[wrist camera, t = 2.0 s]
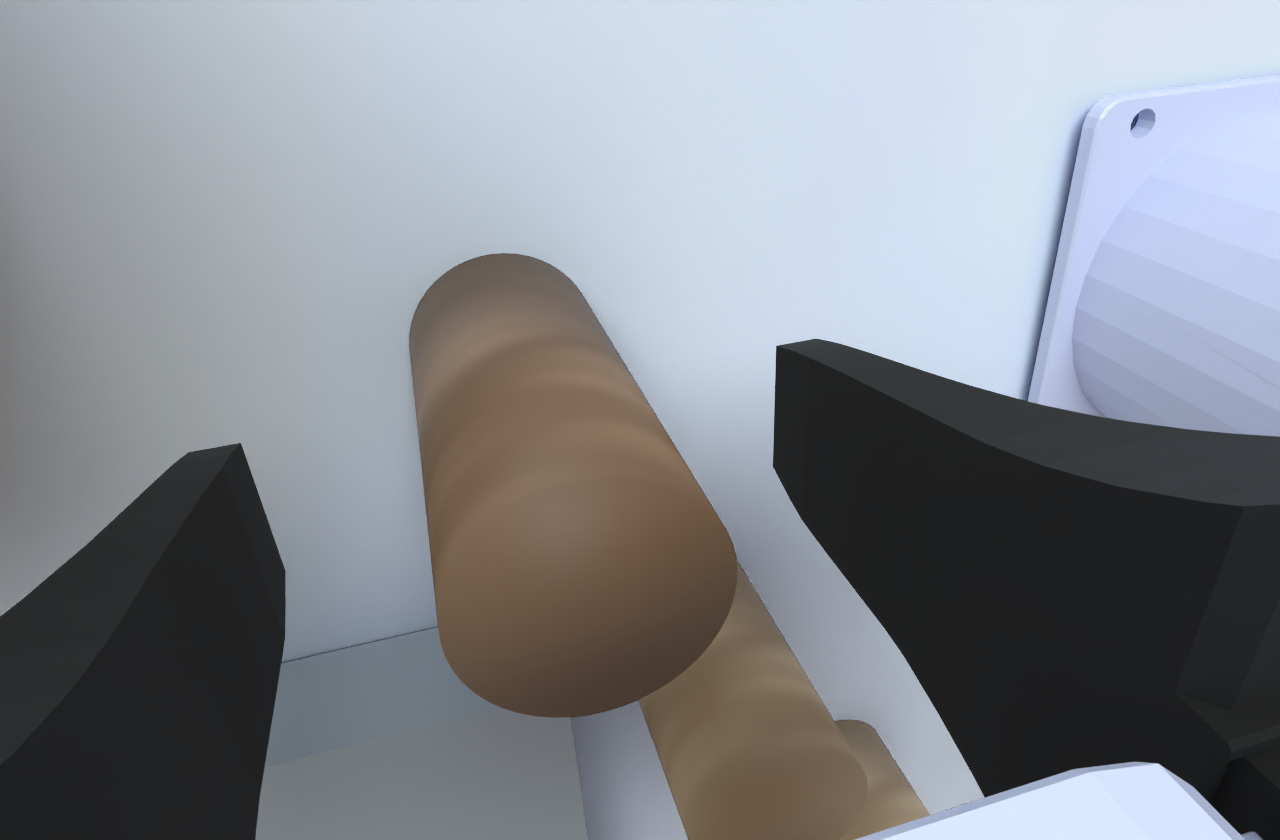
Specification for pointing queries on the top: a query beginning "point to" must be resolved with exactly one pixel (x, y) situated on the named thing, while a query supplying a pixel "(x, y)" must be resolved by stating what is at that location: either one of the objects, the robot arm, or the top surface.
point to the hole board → (410, 754)
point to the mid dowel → (753, 739)
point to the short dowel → (879, 784)
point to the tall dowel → (555, 500)
